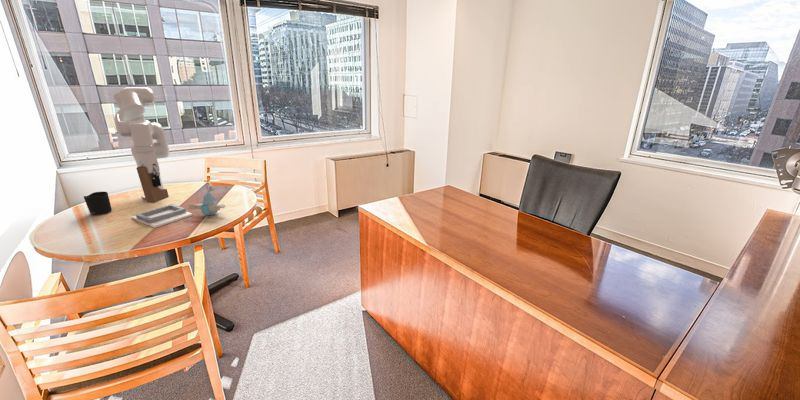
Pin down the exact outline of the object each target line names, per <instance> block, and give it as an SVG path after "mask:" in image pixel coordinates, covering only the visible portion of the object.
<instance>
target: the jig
mask: <svg viewBox="0 0 800 400" xmlns="http://www.w3.org/2000/svg"><path fill="white" fill-rule="evenodd" d="M192 216H193V213H191V212H188V211H187V209H186V208H184V207H182V206H178V205H175V204H173V203H172V204H171V203H170V204H168V205H165V206H160V207H156V208H154V209H150V210H147V211H143V212H139V213H136V214H135V215H132V216H131V217H130V218H131V219H132V220H134V221H137V222H139V223H141V224H144V225H147V226H148V225H149V227H151V228H154V229H156V228H158V227H162V226H165V225H168V224H171V223H174V222H177V221H180V220H183V219H186V218H189V217H192Z"/></svg>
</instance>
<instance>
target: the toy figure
mask: <svg viewBox="0 0 800 400" xmlns="http://www.w3.org/2000/svg"><path fill="white" fill-rule="evenodd" d="M206 189H207V191H206V193H205V194H204V196H203V199H202V202H201V203H191V204H188V208H189V210H195V211H196V210H200V213H201V214H203V215H207V216H213V215H215V214H217V213H218V211H220V210H221V209H224V208H225V207H226V205H225V204H223V203H222V204H217V203H216V202H217V197H215V196H214V195H212V193H211V192H214V191H215V190H216V188H215V187H214V186H213V185H212V184H210V185H208V186H206Z"/></svg>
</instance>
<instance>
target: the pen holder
mask: <svg viewBox="0 0 800 400" xmlns="http://www.w3.org/2000/svg"><path fill="white" fill-rule="evenodd" d="M83 199H84V201H85V204H86V207H87V209H88V211H89V214H90V215H92V216H100V215H105V214H108V213H110V212H111V211H112V210H113V209H112V205H111V201H110V197H109V194H108V191H95V192H92V193H90V194H88V195H83Z"/></svg>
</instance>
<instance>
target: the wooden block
mask: <svg viewBox="0 0 800 400" xmlns="http://www.w3.org/2000/svg"><path fill="white" fill-rule="evenodd" d="M136 171H137V175H138V178H139V181H140V185H141V187H142V188H141V189H142V191H143V195H145V198H146V199H145V202H146V203H147V204H149V203H151V204H155V203H158V202H159V201H162V200H165V199H167V198H169V197H170V195H169V192H168V189H167V188H164V189H160V188H159V187H154V186H153V183H152V176H151V174H148V173H147V171H146V167H143V166H140V167H137V166H136ZM152 173H153V172H152ZM153 175H154V174H153Z"/></svg>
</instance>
